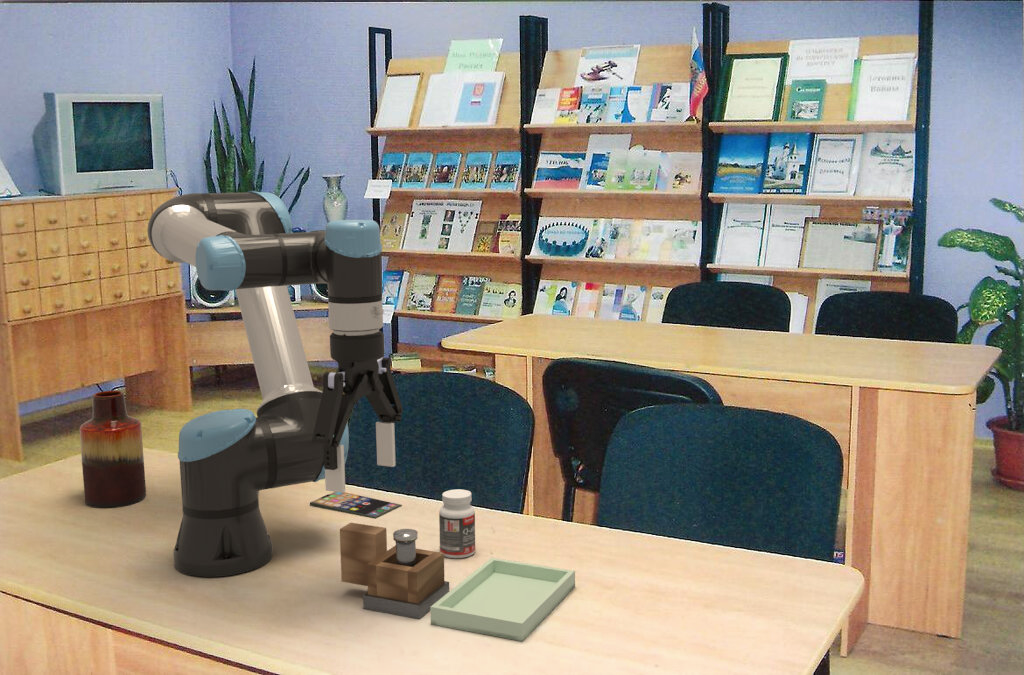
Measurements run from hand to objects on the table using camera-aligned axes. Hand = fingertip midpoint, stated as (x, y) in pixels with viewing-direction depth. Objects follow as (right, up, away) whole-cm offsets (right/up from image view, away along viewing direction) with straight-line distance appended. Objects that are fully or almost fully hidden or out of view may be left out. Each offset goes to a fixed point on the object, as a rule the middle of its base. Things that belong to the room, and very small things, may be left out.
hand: (362, 477), depth 152 cm
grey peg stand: (+6, -18, 0) cm, 19 cm away
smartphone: (-7, -11, +43) cm, 45 cm away
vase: (-53, -11, +48) cm, 72 cm away
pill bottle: (+13, -15, +19) cm, 27 cm away
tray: (+21, -18, -1) cm, 27 cm away
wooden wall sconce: (+4, -16, +1) cm, 16 cm away
